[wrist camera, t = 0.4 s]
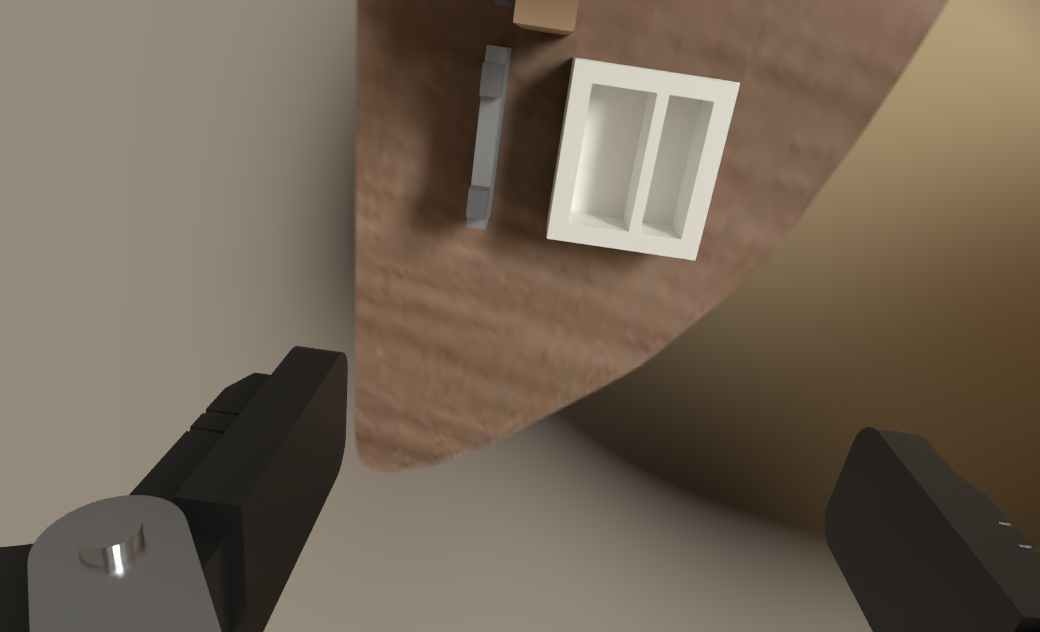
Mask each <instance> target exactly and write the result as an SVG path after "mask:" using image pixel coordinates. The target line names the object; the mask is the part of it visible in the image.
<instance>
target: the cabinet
mask: <svg viewBox="0 0 1040 632" xmlns="http://www.w3.org/2000/svg"><path fill="white" fill-rule="evenodd" d="M511 51H512V48H509V47H502V46H496V45H487V46H486V55H485V62H483V65H482V74H481V83H480V92H479V95H480V96H481V100H480V109H479V118H478V127H477V136H476V145H475V154H474V163H473V172H472V181H471V186H470V187H469V192H468V201H467V210H466V218H467V226H466V227H471V228H478V229H485V228H486V226H487V223H488V220H489V217H490V215H491V211H492V203H493V195H494V187H495V179H496V171H497V163H498V155H499V147H500V139H501V131H502V123H503V115H504V107H505V99H506V91H507V83H508V75H509V67H510V59H511ZM739 86H740V83H737V82H732V81H726V80H721V79H715V78H708V77H701V76H695V75H688V74H681V73H675V72H668V71H661V70H655V69H648V68H642V67H635V66H628V65H622V64H615V63H608V62H602V61H595V60H589V59H582V58H575V57H573V60H572V66H571V72H570V79H569V85H568V91H567V98H566V104H565V110H564V117H563V123H562V129H561V136H560V142H559V148H558V155H557V161H556V167H555V173H554V180H553V186H552V192H551V199H550V205H549V211H548V218H547V239H553V240H559V241H566V242H573V243H580V244H587V245H593V246H600V247H607V248H614V249H621V250H627V251H634V252H641V253H648V254H655V255H661V256H668V257H675V258H682V259H689V260H696V256H697V252H698V248H699V244H700V240H701V236H702V232H703V228H704V224H705V220H706V217H707V213H708V209H709V205H710V201H711V197H712V193H713V189H714V185H715V181H716V177H717V173H718V169H719V165H720V161H721V157H722V153H723V149H724V145H725V141H726V137H727V133H728V129H729V125H730V121H731V117H732V113H733V109H734V105H735V102H736V98H737V94H738V90H739Z"/></svg>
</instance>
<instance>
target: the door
mask: <svg viewBox="0 0 1040 632" xmlns="http://www.w3.org/2000/svg"><path fill="white" fill-rule="evenodd" d="M578 2H579V0H494V5H495V6H501V7H508V8H514V9H515V10H514V18H513V23H515V24H516V25H518V26H519V27H521V28H522V29H526V30H533V31H539V32H546V33H553V34H559V35H566V36H568V35H570V34H571V33H573V32H574V28H575V22H576V15H577V9H578Z"/></svg>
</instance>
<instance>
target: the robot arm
mask: <svg viewBox="0 0 1040 632" xmlns="http://www.w3.org/2000/svg"><path fill="white" fill-rule="evenodd" d="M347 373H348V364H347V357H346V355H345V353H343V352H336V351H329V350H321V349H314V348H307V347H300V346H295V347H294V348H293V349H292V350H291V351H290V352H289V353H288V355H287V356H286V357H285V358H284V359H283V361H282V362H281V363H280V364H279V366H278V367H277V368H276V369H275V371H274V372H273V373H272V374H271V375H268V374H260V373H253V374H251V375H249V376H247V377H245V378H243V379H242V380H240V381H238V382H236V383H234V384H232V385H230V386H228V387H226V388H225V389H224V390H223V391H222V392H221V393H220V394H219V395H218V397H217V398H216V399H215V400H214V401H213V402H212V403H211V404H210V405H209V407H208V408H207V409H206V413H205V414H204V413H202V414H201V415H200V417H199V418H198V419H197V420H196V421H195V422H194V423H193V425H192V426H191V427H190V431H189V432H188V431H186V432H185V433H184V434H183V436H182V437H181V438H180V439H179V440H178V441H177V442H176V444H174V446H173V447H172V448H171V449H170V450H169V451H168V452H167V453H166V454H165V456H164V457H163V458H162V459H161V460H160V461H159V462H158V463H157V465H156V466H155V467H154V468H153V469H152V470H151V471H150V472H149V473H148V474H147V476H146V477H145V478H144V479H143V480H142V481H141V482H140V484H139V485H138V486H137V487H136V488H135V489H134V490H133V491H132V492H131V493H130V495H126V496H117V497H113V498H108V499H103V500H100V501H96V502H93V503H90V504H87V505H85V506H82V507H80V508H78V509H76V510H74V511H72V512H70V513H68V514H66V515H65V516H63V517H61V518H60V519H58V520H57V521H55V522H54V523H53V524H51V525H50V526H49V527H48V528H47V529H46V530H45V531H44V532H43V533H42V534H41V535H40V536H39V537H38V538H37V540H36V541H35V543H34V544H28V545H20V546H10V547H0V632H263V631H264V629H265V627H266V625H267V623H268V621H269V618H270V616H271V614H272V612H273V610H274V608H275V606H276V604H277V602H278V599H279V597H280V595H281V593H282V591H283V589H284V587H285V585H286V583H287V581H288V579H289V577H290V574H291V572H292V570H293V568H294V566H295V564H296V562H297V560H298V558H299V556H300V553H301V551H302V549H303V547H304V545H305V543H306V541H307V539H308V537H309V535H310V533H311V531H312V528H313V526H314V524H315V522H316V520H317V518H318V516H319V514H320V512H321V509H322V507H323V505H324V503H325V501H326V499H327V497H328V495H329V493H330V491H331V489H332V487H333V484H334V482H335V480H336V478H337V476H338V473H339V470H340V467H341V463H342V459H343V454H344V448H345V440H346V439H345V438H346V409H347ZM825 535H826V540H827V543H828V546H829V548H830V550H831V552H832V554H833V556H834V558H835V560H836V562H837V564H838V565H839V567H840V569H841V571H842V573H843V575H844V577H845V579H846V581H847V583H848V585H849V586H850V589H851V590H852V592H853V594H854V596H855V598H856V600H857V602H858V604H859V606H860V607H861V610H862V611H863V613H864V615H865V617H866V619H867V621H868V623H869V625H870V627H871V629H872V631H873V632H1040V553H1039V552H1037V551H1036V550H1032V549H1031V544H1030V542H1029V541H1028V540H1027V539H1026V538H1025V537H1024V536H1023V535H1022V534H1021V533H1020V531H1018V529H1017V528H1015V527H1011V522H1010V520H1009V519H1008V518H1007V517H1006V516H1005V515H1004V514H1003V513H1002V512H1001V511H1000V509H999V508H998V507H997V506H996V505H995V504H994V503H993V502H992V501H991V500H990V498H989V497H988V496H986V495H985V494H984V493H982V492H981V491H980V490H978V489H977V488H975V487H974V486H973V485H971V484H970V483H968V482H967V481H966V480H964V479H963V478H961V477H960V476H958V475H957V474H956V473H955V472H954V471H953V470H952V469H951V467H950V466H949V465H948V464H947V463H946V462H945V461H944V460H943V458H942V457H941V456H940V455H939V454H938V453H937V452H936V450H935V449H934V448H933V447H932V446H931V445H930V444H929V443H928V441H926V439H925V438H924V437H922V436H921V435H918V434H914V433H907V432H899V431H893V430H885V429H878V428H871V427H867V428H864V429H863V430H861V431H860V432H859V433H858V434H857V436H856V437H855V440H854V442H853V444H852V446H851V449H850V451H849V454H848V456H847V459H846V461H845V463H844V466H843V469H842V471H841V473H840V476H839V478H838V480H837V483H836V485H835V488H834V490H833V493H832V495H831V497H830V500H829V503H828V505H827V509H826V513H825Z"/></svg>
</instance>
